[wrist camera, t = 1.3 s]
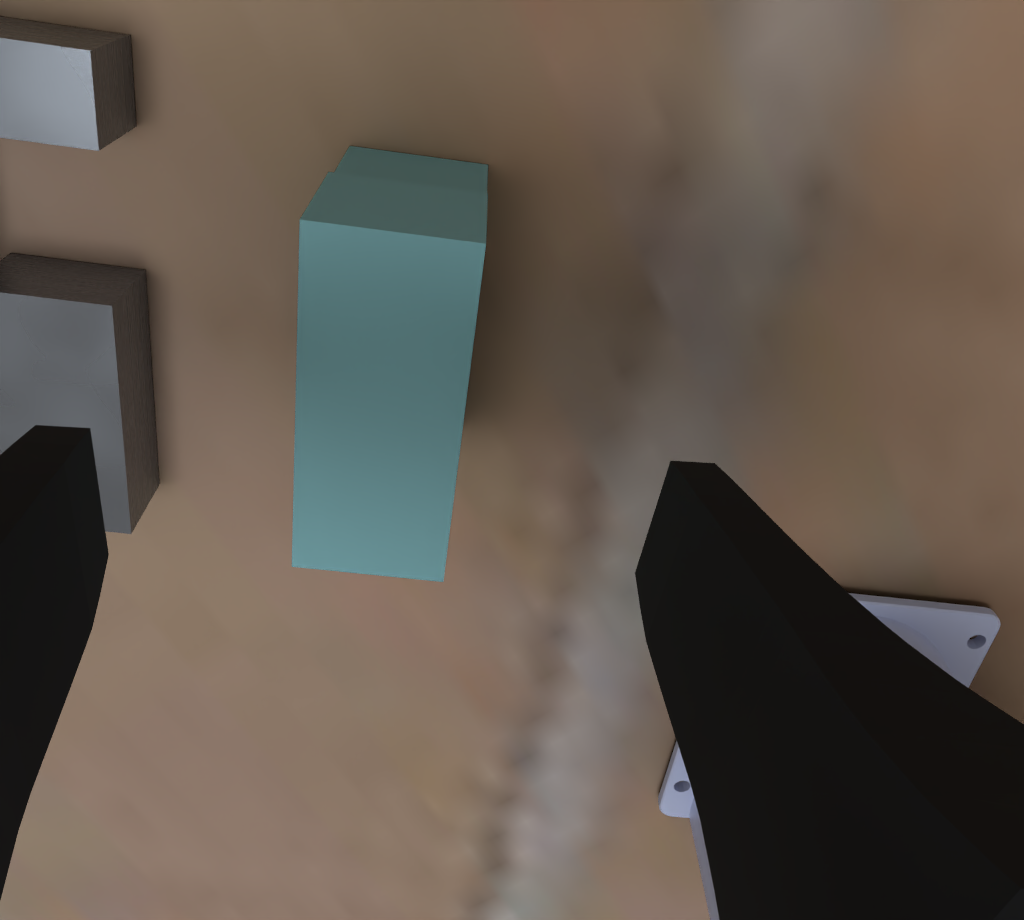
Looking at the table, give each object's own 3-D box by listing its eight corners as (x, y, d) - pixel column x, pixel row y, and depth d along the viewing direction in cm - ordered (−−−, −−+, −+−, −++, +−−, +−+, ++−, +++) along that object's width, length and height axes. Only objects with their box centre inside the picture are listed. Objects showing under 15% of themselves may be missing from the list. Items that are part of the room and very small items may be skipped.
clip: (455, 434, 24) (443, 581, 19) (336, 421, 24) (291, 566, 19) (489, 155, 20) (486, 243, 15) (349, 136, 20) (299, 219, 15)
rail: (159, 484, 25) (131, 533, 23) (-8, 466, 24) (-50, 515, 22) (89, -605, 15) (27, -678, 13) (-198, -661, 14) (-304, -745, 12)
